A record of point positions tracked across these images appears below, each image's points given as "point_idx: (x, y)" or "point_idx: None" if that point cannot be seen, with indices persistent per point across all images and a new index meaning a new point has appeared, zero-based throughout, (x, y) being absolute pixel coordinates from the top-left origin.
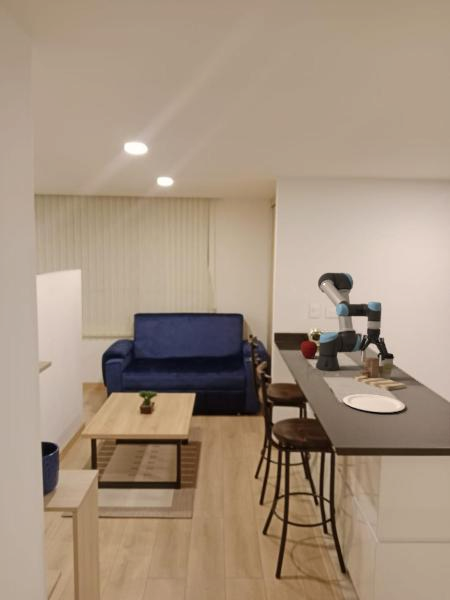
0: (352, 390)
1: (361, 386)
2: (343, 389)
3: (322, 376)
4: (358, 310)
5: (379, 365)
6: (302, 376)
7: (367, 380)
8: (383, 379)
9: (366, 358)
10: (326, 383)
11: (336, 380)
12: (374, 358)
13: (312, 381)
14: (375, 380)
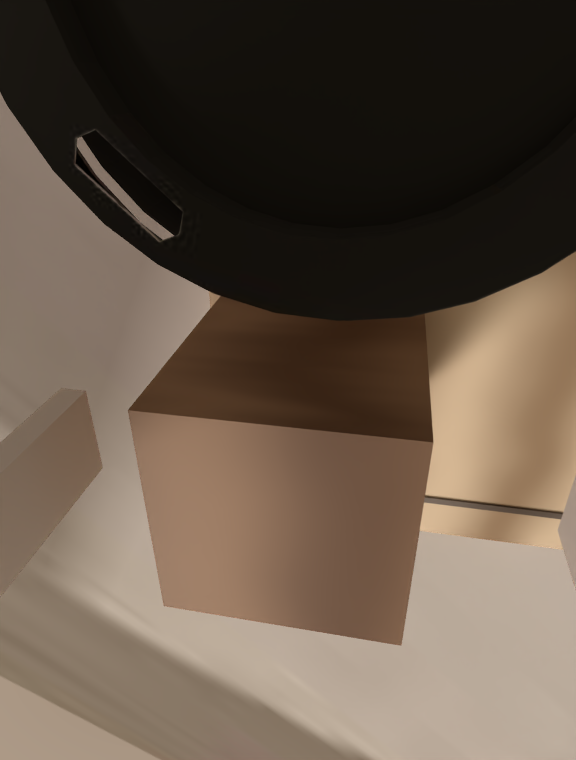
0: (505, 723)
1: (473, 601)
2: (440, 737)
3: (45, 580)
4: None
5: (566, 539)
6: (17, 666)
7: (449, 525)
8: (564, 319)
9: (214, 608)
10: (245, 697)
11: None
12: (314, 507)
13: (161, 712)
14: (515, 455)
